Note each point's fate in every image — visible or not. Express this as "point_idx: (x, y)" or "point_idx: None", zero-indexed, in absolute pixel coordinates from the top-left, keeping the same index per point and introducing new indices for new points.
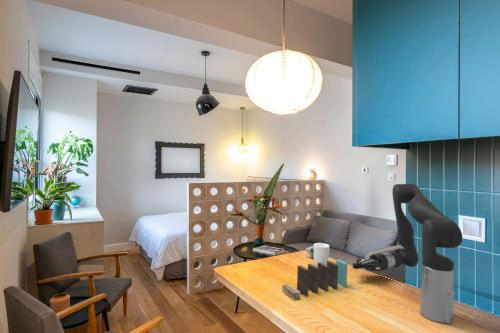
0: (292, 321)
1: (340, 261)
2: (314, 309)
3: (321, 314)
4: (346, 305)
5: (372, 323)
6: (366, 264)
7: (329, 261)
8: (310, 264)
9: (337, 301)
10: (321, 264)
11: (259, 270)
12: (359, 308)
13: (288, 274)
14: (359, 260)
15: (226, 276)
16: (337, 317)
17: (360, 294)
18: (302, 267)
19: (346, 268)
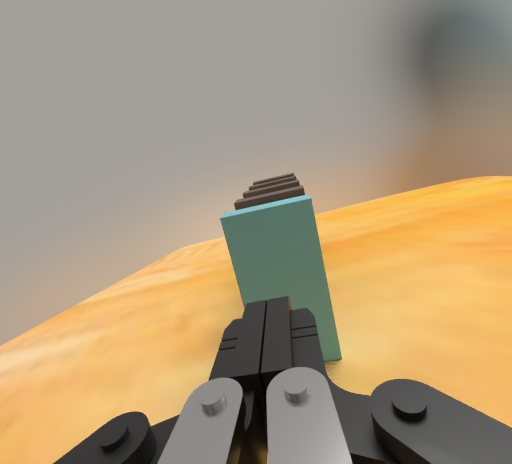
0: (202, 243)
1: (270, 203)
2: (204, 261)
3: (181, 266)
4: (156, 307)
5: (60, 321)
6: (125, 417)
7: (294, 188)
8: (290, 177)
9: (191, 297)
10: (274, 185)
11: (489, 202)
12: (112, 327)
13: (461, 237)
14: (392, 434)
15: (421, 189)
16: (148, 281)
17: (149, 386)
18: (275, 177)
19: (231, 252)
